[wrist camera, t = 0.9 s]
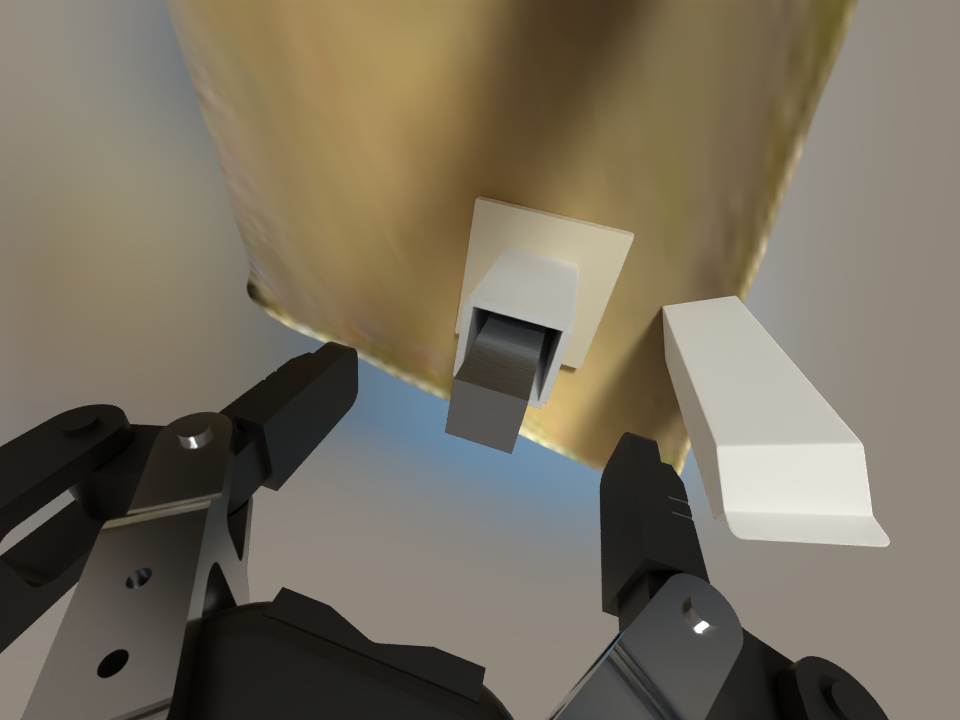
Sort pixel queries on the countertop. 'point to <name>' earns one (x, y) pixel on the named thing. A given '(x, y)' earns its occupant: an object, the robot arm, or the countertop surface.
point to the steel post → (496, 382)
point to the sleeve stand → (539, 281)
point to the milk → (764, 432)
